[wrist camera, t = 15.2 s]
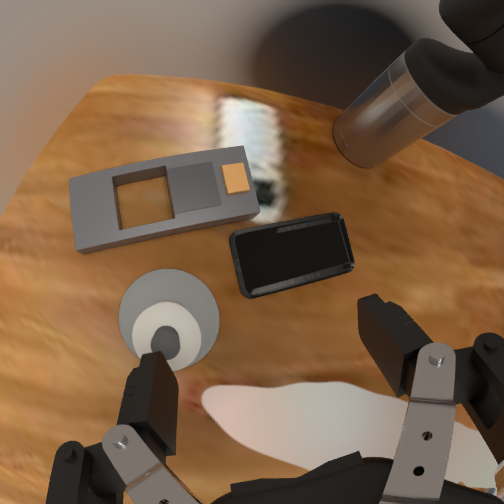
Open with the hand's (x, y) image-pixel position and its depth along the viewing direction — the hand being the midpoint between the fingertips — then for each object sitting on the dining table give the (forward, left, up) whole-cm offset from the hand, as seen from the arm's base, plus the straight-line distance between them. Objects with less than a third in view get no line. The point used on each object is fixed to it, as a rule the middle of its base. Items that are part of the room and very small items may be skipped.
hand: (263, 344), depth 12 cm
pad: (+4, 0, -23) cm, 23 cm away
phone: (-12, -4, -23) cm, 26 cm away
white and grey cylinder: (+4, 0, -22) cm, 22 cm away
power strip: (+2, -13, -23) cm, 26 cm away
